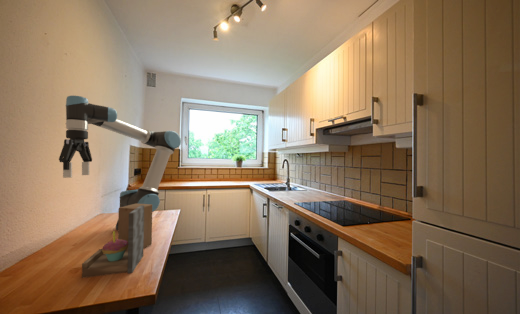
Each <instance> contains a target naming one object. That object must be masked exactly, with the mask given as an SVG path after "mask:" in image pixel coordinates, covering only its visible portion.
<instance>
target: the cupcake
mask: <svg viewBox="0 0 520 314" xmlns="http://www.w3.org/2000/svg"><path fill="white" fill-rule="evenodd" d="M112 236H113V237H112V240H111V241H107V243H105V244H104V245H103V246H102V248H101V249H102V252H103V253H104V254H106V256H107V259H108V261H117V260H120V259H122V258H123V255H124V252H125V250H126V249H127V248H128V242H127V241H126V240H122V239H118V238H116V231H115V230H113V231H112Z"/></svg>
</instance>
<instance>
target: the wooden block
mask: <svg viewBox="0 0 520 314" xmlns="http://www.w3.org/2000/svg"><path fill="white" fill-rule="evenodd" d="M140 205H144V245H143V250H144V249H147V247H149V246H152V244H153V243H152V242H153V241H152V240H153V239H152V238H153V237H152V234H153V212H152V204H132V205H128V206H124V207H120V206H119V208H118V219H117V221H118V230H117V231H118V232H117V239H122V240H126V241H127V242H128V230H129V213H130V212H132V211H133V210H135V209H136V208H138V207H139V206H140ZM126 251H128V248H127V249H126V250H125V252H126Z"/></svg>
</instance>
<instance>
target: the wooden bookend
mask: <svg viewBox="0 0 520 314" xmlns="http://www.w3.org/2000/svg"><path fill="white" fill-rule="evenodd" d="M143 245H144V205H140V206H139V207H138V208H136V209H135V210H133V211H132V212H130V213H129V230H128V251H126V252H124V255H123V258H122V259H120V260H117V261H108V259H107V256H106V254H104V253H103V252H102V249H103V248H100V249H99V248H98V250H97V251H95V252H94V253H93V254H92V255H91V256H90V257H88V258H87V259H85V261H84V262H82V263H81V264H82V265H81V278H82V279H84V278H86V279H87V278H92V277H93V278H94V277H99V276H109V275H117V274H124V273H125V274H126V273H127V274H132V273H133V272H134V271H135V270H136V268H137V266H138V264H139V263H140V262H141V260H142V259H143V257H144V249H143Z"/></svg>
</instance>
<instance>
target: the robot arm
mask: <svg viewBox="0 0 520 314" xmlns="http://www.w3.org/2000/svg"><path fill="white" fill-rule="evenodd" d="M89 102H90V101H89V99H88V98H86V97H84V96H80V95H68V96H66V100H65V125H66V126H65V128H66V130H65V137H66V138H65V139H64V141H63V146H62V150H61V152H60V154H59V157H58V161H59V163H62V178H63V179H64V178H67V179H69V178H73V162H72V159H73V157H74V156H75V153H76V152H78V154H79V156H80V158H81V159H82V161H81V176H90V162H92V161H93V157H92V153H91V150H90V145H89V141H85V140H88V139H89V132H88V131H89V125H93V126H97V127H99V128H102V129H104V130H108V131H112V133H113V132H115V133H116V134H120V135H123V136H125V137H128V138H131V139H134V140H137V141H139V142H141V144H144V145H147V146H149V147H152V148H155V150H156V151H155V153H154V156H153V159H152V161H151V163H150V166H149V169H148V171H147V173H146V176H145V179H144V180H143V184H142V186H140V187H138V189H132V190H130V189H129V190H124V191H121V192H120V193H119V208H120V207H124V206H128V205H132V204H152V213H154V212H155V211H156V210H157V209H158V207H159V205H160V203H161V200H160V197H159V194H160V192H159V190H158V189H159V187H160V183H161V181H162V178H163V175H164V172H165V170H166V167H167V165H168V161H169V159H170V158H171V157H170V156H171V155H173V154H174V153H175V150H176V149H177V148H179V147H180V146H181V144H182V140H181V137H180V135H179V133H178V132H177V131H174V130H166V131H164V130H163V131H151V130H149V129H146V130H145V129H142V128H140V127H138V126H135V125H133V124H131V123H127V122H125V121H122V120H120V119H117V118H118V112H117V110H116V108H113V107H109V106H104V105H98V104H94V103H89ZM115 230H116V231H118V220H117V222H116V224H115Z"/></svg>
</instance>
